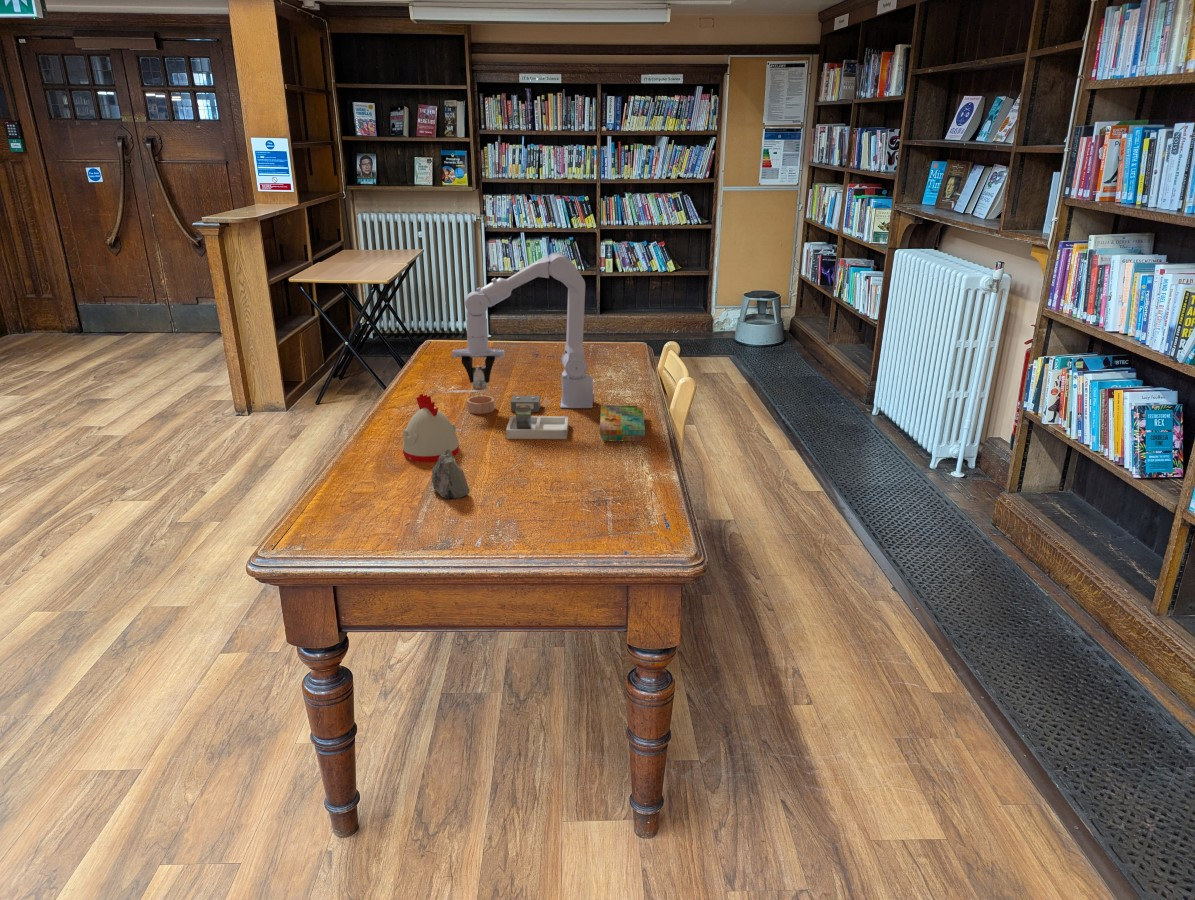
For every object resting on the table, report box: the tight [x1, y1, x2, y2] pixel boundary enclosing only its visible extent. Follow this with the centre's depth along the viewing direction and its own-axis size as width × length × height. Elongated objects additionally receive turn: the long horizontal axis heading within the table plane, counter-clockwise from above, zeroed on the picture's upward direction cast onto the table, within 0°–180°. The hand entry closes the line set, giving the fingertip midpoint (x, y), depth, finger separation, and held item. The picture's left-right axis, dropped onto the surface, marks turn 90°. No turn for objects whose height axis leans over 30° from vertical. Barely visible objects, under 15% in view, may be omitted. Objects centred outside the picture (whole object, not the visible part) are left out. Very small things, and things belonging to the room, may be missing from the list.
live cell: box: [515, 405, 532, 429], centre depth 219 cm, size 4×4×6 cm
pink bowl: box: [466, 395, 496, 415], centre depth 236 cm, size 8×8×3 cm
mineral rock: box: [431, 449, 470, 500], centre depth 184 cm, size 13×11×10 cm
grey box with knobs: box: [510, 395, 541, 413], centre depth 237 cm, size 8×6×3 cm
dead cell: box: [472, 365, 488, 391], centre depth 233 cm, size 4×4×6 cm
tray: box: [505, 415, 569, 440], centre depth 220 cm, size 16×11×2 cm
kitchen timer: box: [402, 393, 460, 463], centre depth 204 cm, size 14×14×15 cm
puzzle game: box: [599, 404, 646, 442], centre depth 221 cm, size 12×5×20 cm
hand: (479, 381), depth 234 cm, fingers closed on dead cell, 4 cm apart
